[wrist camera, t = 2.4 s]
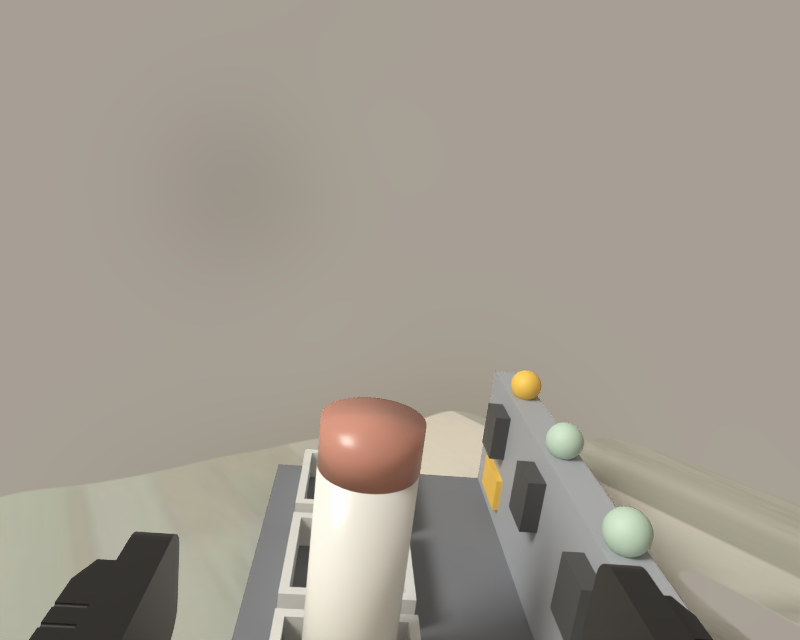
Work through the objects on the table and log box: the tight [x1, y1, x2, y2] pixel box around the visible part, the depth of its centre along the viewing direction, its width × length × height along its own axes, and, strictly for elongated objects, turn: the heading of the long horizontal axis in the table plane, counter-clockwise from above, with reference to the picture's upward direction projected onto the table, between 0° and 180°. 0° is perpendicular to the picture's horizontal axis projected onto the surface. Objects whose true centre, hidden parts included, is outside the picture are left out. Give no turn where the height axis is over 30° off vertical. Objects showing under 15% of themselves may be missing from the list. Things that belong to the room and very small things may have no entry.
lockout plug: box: [302, 397, 426, 640], centre depth 25 cm, size 4×4×14 cm
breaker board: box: [232, 370, 688, 640], centre depth 33 cm, size 25×18×12 cm
